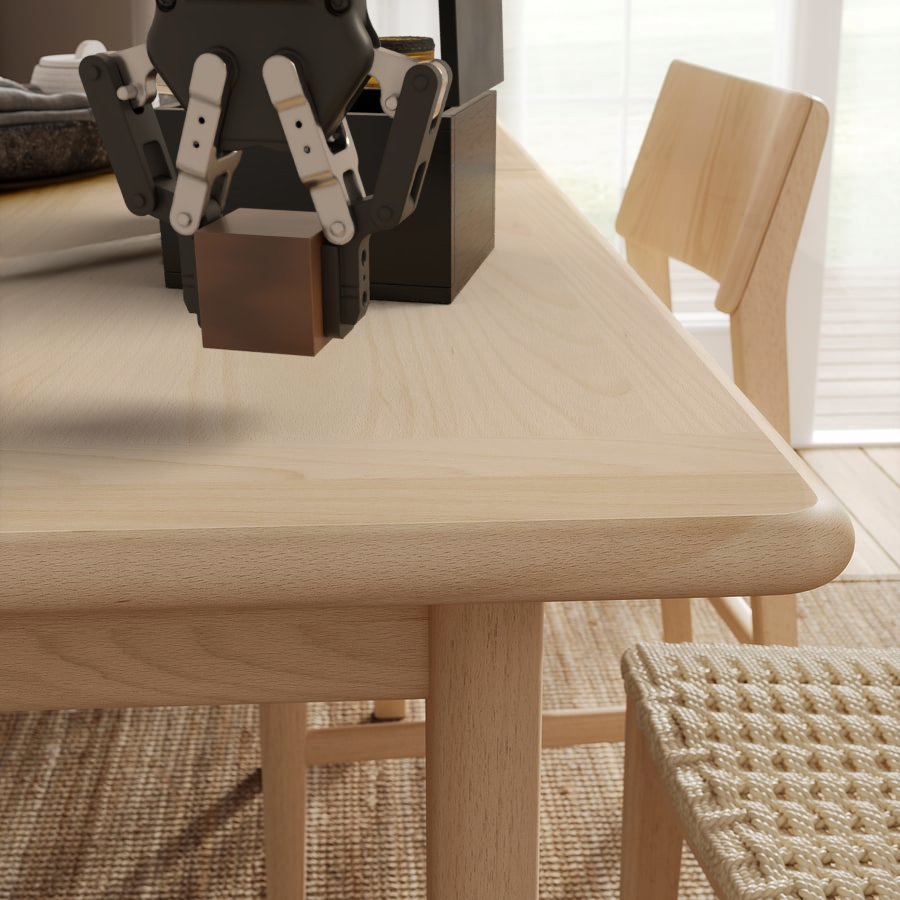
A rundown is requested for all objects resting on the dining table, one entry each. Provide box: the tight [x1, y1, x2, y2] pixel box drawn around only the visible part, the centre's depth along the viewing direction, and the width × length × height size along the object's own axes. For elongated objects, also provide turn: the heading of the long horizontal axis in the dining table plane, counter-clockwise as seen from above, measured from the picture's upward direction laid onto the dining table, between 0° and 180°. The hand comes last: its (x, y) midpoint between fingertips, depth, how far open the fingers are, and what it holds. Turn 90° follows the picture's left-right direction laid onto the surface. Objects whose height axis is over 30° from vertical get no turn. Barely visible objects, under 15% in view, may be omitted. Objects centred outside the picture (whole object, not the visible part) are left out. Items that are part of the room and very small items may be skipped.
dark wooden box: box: [153, 87, 498, 305], centre depth 70 cm, size 17×14×10 cm
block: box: [194, 208, 334, 358], centre depth 45 cm, size 4×4×4 cm
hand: (277, 326), depth 46 cm, fingers closed on block, 4 cm apart
